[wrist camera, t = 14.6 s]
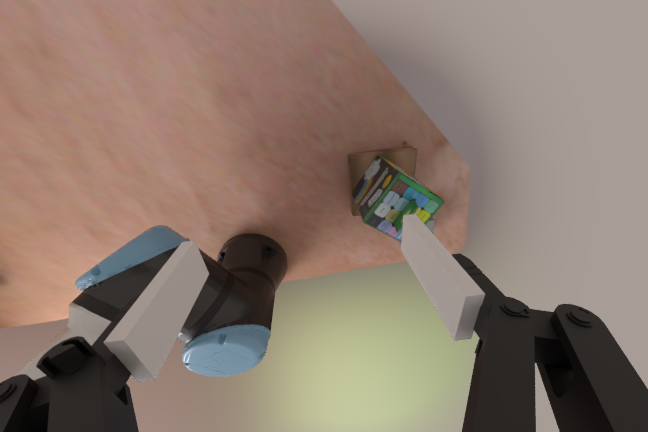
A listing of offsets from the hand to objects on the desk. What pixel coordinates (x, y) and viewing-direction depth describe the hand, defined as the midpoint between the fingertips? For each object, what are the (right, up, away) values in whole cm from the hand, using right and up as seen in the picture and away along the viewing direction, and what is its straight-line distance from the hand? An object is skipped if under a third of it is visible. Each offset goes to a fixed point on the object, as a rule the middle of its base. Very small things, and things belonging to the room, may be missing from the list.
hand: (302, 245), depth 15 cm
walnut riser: (+12, +9, +32) cm, 36 cm away
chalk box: (+12, +8, +30) cm, 34 cm away
